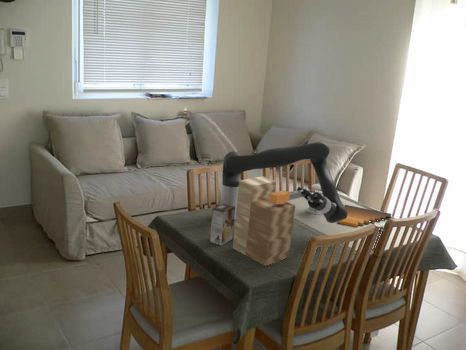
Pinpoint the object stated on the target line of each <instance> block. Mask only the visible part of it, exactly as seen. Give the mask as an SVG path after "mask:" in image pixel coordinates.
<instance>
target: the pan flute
mask: <svg viewBox="0 0 466 350" xmlns="http://www.w3.org/2000/svg"><path fill="white" fill-rule="evenodd" d="M344 206H345V208H346V210H347V213H348V215H347V218H346V219H344V220H341V221H338V222H337V224H342V225H346V226H351V227H355V228H357V227H358V226H364V224H365V225H369V224H370V223H371V222H374V223H375V222H376V221H375V220H378V221H380V222H381V220H380V219H384V220H385V221H386V218H390V219H391V218H392V213H388V212H383V211H378V210H373V209H369V208H364V207H359V206H353V205H348V204H344ZM384 220H383V221H384ZM369 221H371V222H369ZM378 221H377V222H378Z"/></svg>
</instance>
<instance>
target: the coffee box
mask: <svg viewBox="0 0 466 350" xmlns="http://www.w3.org/2000/svg"><path fill="white" fill-rule="evenodd" d="M211 212H212V213H211V225H210V238H209V240H210V241H211V242H210V241H209V242H210V243H213V244H215V243H216V244H215V245H218V244H219V246H221V245H222V246H223V245H225V244H226V243H229V242H230V241H232V240H233V238H234V227H235V220H234V215H235V207H234V206H231V205H227V204H221V205H219V204H218V205H217V206H215V207H213V208H212V211H211Z"/></svg>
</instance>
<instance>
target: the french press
mask: <svg viewBox="0 0 466 350" xmlns="http://www.w3.org/2000/svg"><path fill="white" fill-rule="evenodd" d="M311 188H312V189H314V190H313V191H312V193H314V192H316V191H315V190H318V191H317V192H319V193H321V194H322V192H320V191H322V190H321V186H320V183H314V184H311ZM322 195H323V194H322ZM306 211H307V212H308V213H310V214H314V215H323V214H322V213H320V212H317V211H316V210H314V209H313V208H311V207H310V206H309V205H308V208H307V209H306Z"/></svg>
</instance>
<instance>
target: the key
mask: <svg viewBox="0 0 466 350" xmlns="http://www.w3.org/2000/svg"><path fill="white" fill-rule="evenodd" d="M303 189H306V190H307V191H309V192H311V189H309V188H307V187H306V188H302V189H301V190H297V189H296V190H292V191H287V190H278V191H275V192H274V193H271V194H270V202H272V203H274V204H279V203H283V202H290V201H293V200H296V199H298V198H299V199H300V198H303V197H304V196H305V195H304V194H302V191H303Z"/></svg>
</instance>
